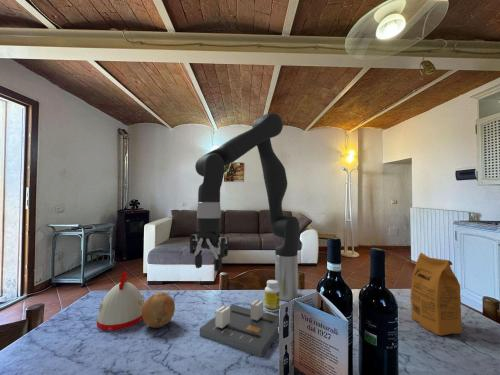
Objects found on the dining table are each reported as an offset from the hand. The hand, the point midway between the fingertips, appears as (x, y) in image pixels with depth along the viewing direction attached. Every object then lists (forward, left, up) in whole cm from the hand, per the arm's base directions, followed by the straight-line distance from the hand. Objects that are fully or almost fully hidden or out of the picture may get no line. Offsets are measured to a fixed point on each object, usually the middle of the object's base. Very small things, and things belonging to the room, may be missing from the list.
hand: (207, 269), depth 73 cm
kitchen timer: (+9, -28, -18) cm, 35 cm away
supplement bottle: (-22, +13, -18) cm, 31 cm away
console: (-5, +11, -18) cm, 21 cm away
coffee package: (-36, +63, -18) cm, 74 cm away
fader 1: (0, +6, -15) cm, 16 cm away
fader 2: (-9, +13, -15) cm, 22 cm away
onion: (+6, -14, -18) cm, 24 cm away
